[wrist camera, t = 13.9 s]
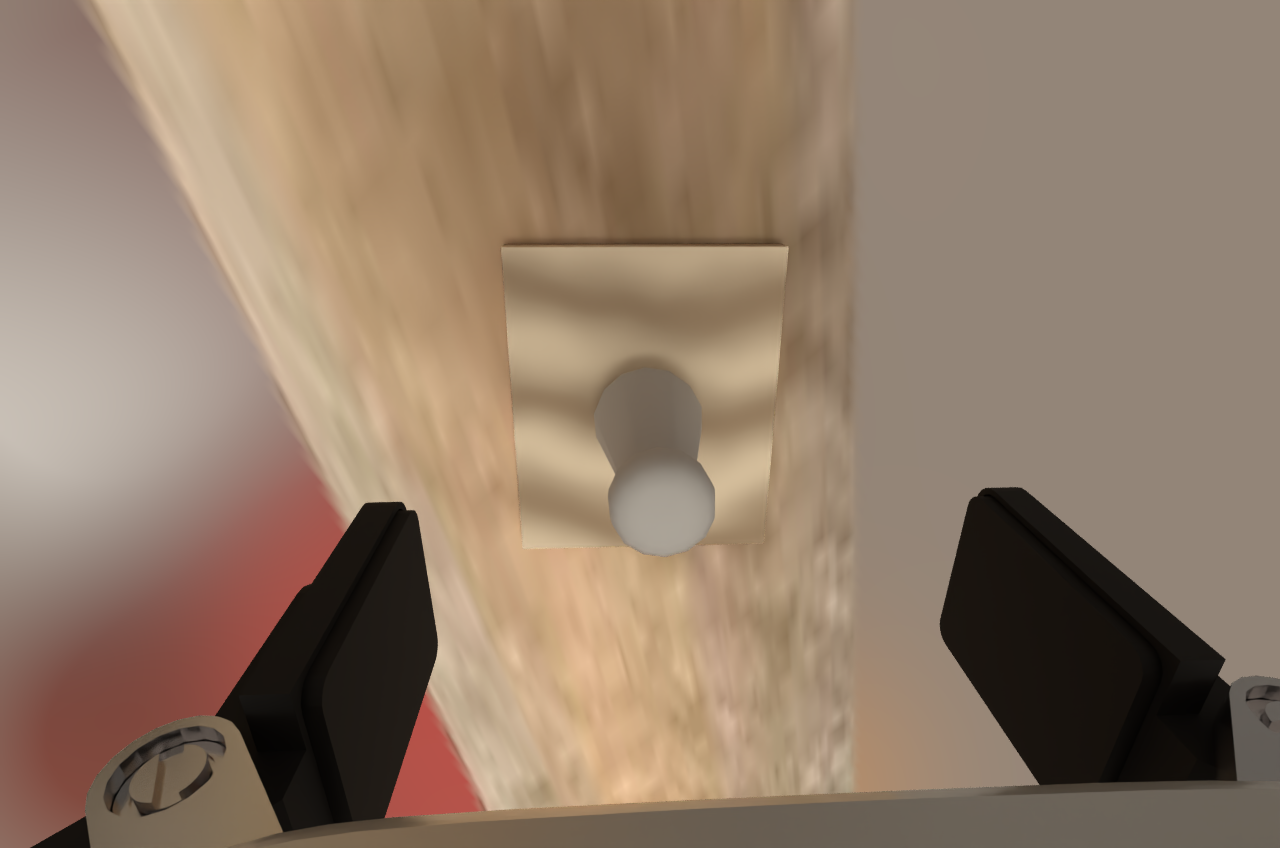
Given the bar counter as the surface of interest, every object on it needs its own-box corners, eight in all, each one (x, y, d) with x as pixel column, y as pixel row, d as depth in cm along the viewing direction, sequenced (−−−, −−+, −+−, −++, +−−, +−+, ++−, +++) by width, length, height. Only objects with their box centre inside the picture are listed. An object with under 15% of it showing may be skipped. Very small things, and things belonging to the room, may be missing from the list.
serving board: (505, 244, 35) (500, 247, 33) (781, 243, 35) (788, 246, 34) (525, 536, 41) (522, 548, 40) (758, 531, 42) (763, 543, 40)
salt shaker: (713, 424, 37) (764, 543, 25) (627, 469, 38) (636, 606, 26) (665, 337, 35) (696, 422, 23) (575, 387, 36) (560, 494, 24)
